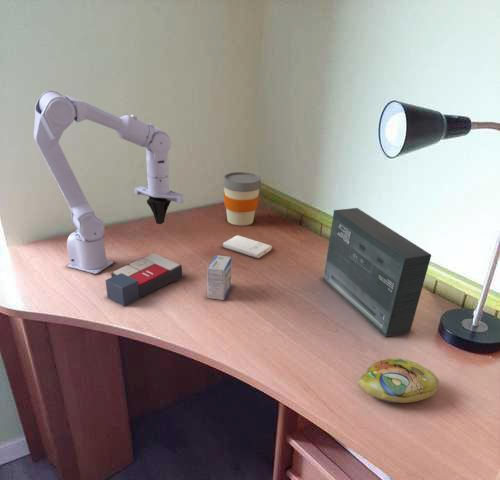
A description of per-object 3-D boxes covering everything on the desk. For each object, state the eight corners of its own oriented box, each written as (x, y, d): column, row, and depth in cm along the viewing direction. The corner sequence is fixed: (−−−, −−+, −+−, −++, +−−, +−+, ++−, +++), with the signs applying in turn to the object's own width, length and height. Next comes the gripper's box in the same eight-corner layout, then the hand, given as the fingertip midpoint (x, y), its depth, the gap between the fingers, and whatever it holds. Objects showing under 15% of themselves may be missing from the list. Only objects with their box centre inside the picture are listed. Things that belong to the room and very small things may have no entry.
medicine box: (223, 301, 123) (224, 270, 118) (206, 298, 124) (207, 267, 119) (231, 286, 130) (232, 256, 125) (214, 284, 130) (215, 254, 126)
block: (107, 297, 121) (105, 280, 119) (123, 290, 125) (121, 273, 122) (123, 306, 119) (122, 288, 116) (139, 298, 122) (138, 280, 119)
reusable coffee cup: (218, 225, 165) (219, 181, 157) (226, 212, 175) (227, 170, 167) (255, 229, 163) (258, 185, 155) (261, 216, 174) (263, 173, 166)
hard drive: (237, 239, 156) (271, 249, 150) (222, 247, 150) (257, 259, 144) (237, 234, 155) (271, 244, 149) (222, 242, 149) (257, 254, 144)
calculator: (109, 271, 125) (154, 250, 135) (112, 285, 128) (155, 264, 138) (138, 285, 120) (182, 263, 130) (140, 300, 122) (183, 277, 132)
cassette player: (410, 331, 116) (431, 254, 105) (385, 337, 113) (404, 258, 103) (345, 276, 138) (357, 207, 128) (323, 279, 136) (334, 210, 125)
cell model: (450, 399, 92) (386, 381, 87) (423, 421, 97) (361, 404, 92) (432, 355, 100) (372, 336, 95) (408, 377, 105) (349, 360, 100)
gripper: (189, 175, 133) (189, 223, 140) (143, 167, 137) (146, 213, 145) (175, 182, 128) (177, 231, 135) (128, 173, 132) (132, 221, 139)
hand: (160, 222), depth 139 cm, fingers closed
